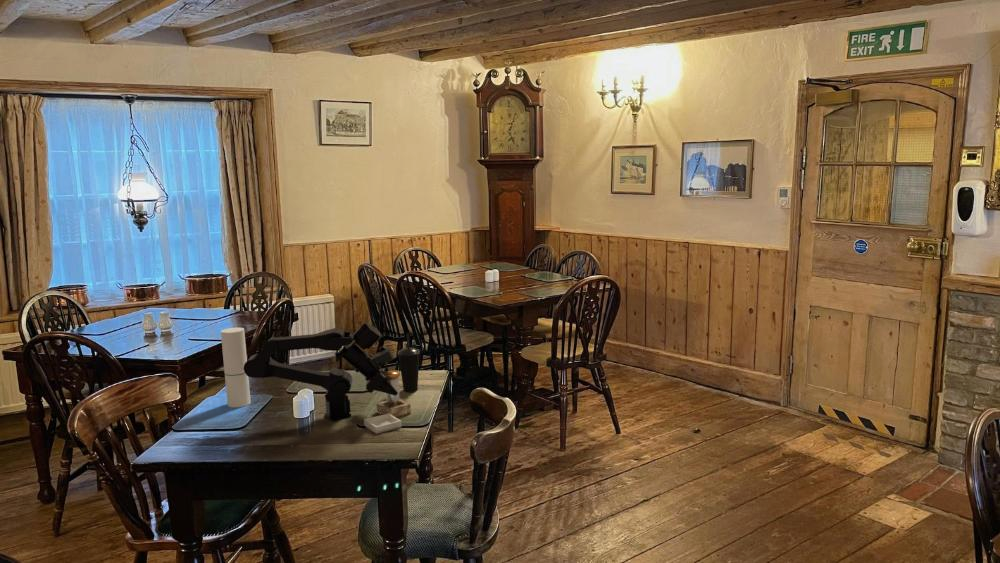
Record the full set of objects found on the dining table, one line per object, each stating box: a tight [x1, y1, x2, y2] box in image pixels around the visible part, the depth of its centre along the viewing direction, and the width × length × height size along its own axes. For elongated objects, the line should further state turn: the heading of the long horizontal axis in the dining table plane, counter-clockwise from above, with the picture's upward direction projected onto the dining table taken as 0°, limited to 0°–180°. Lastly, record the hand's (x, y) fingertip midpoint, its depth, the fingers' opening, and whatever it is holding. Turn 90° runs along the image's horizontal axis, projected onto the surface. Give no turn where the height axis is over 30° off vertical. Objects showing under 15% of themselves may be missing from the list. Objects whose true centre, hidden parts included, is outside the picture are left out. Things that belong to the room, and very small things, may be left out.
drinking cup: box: [397, 332, 421, 393], centre depth 243 cm, size 8×8×20 cm
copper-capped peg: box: [384, 369, 401, 408], centre depth 222 cm, size 5×5×13 cm
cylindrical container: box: [220, 327, 252, 408], centre depth 232 cm, size 7×7×25 cm
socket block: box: [376, 398, 412, 418], centre depth 222 cm, size 8×8×3 cm
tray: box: [363, 413, 403, 435], centre depth 211 cm, size 8×8×2 cm
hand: (397, 392), depth 222 cm, fingers closed on copper-capped peg, 4 cm apart
